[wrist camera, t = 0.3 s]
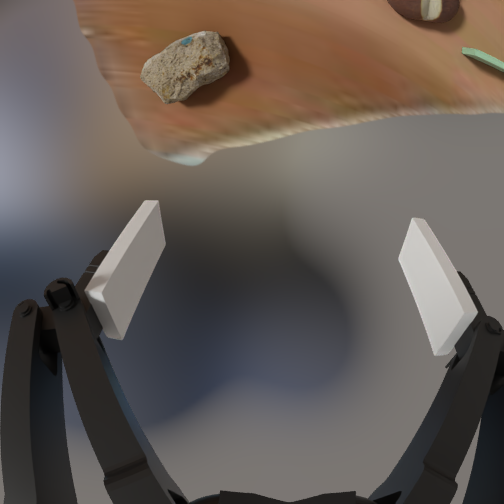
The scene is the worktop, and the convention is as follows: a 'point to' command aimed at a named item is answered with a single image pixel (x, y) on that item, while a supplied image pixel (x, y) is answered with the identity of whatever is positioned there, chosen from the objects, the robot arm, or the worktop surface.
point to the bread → (426, 9)
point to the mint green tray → (483, 58)
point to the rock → (186, 66)
